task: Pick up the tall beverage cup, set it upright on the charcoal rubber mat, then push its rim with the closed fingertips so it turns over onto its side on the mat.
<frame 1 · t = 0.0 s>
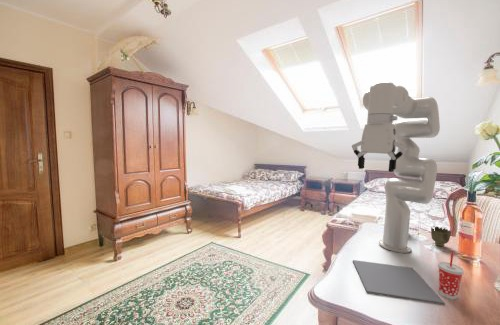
hand: (375, 169, 81), 37 cm above the table, tool pointing down, fingers open, 9 cm apart
cup: (439, 246, 110), on the table
beverage cup: (447, 294, 73), on the table
mat: (391, 279, 80), on the table
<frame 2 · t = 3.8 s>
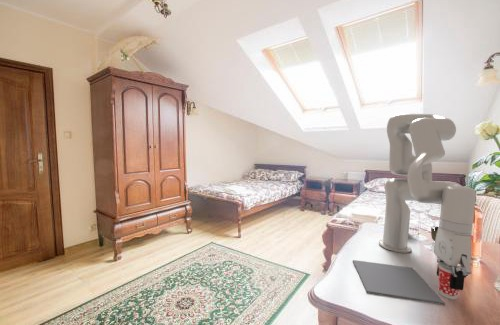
hand: (449, 281, 73), 4 cm above the table, tool pointing down, fingers closed on beverage cup, 6 cm apart
beverage cup: (447, 294, 73), on the table, touching gripper
everything else where it was.
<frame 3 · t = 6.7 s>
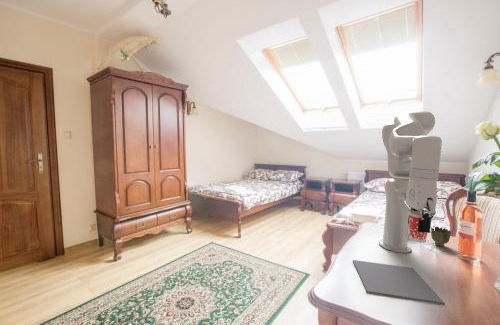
hand: (418, 227, 77), 19 cm above the table, tool pointing down, fingers closed on beverage cup, 6 cm apart
beverage cup: (417, 240, 77), point 15 cm above the table, touching gripper
everything else where it was.
when the fingers open (6 cm above the table, at t = 9.6 s): beverage cup drops 1 cm, resting on mat.
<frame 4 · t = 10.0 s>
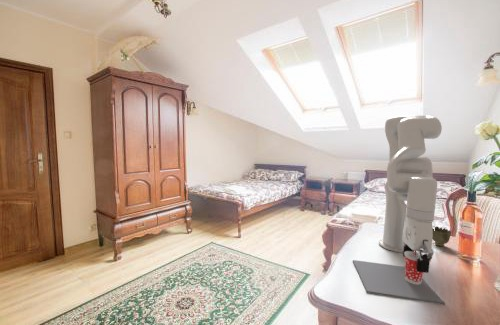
hand: (414, 264, 78), 7 cm above the table, tool pointing down, fingers open, 9 cm apart
beverage cup: (412, 281, 79), resting on mat
everything else where it was.
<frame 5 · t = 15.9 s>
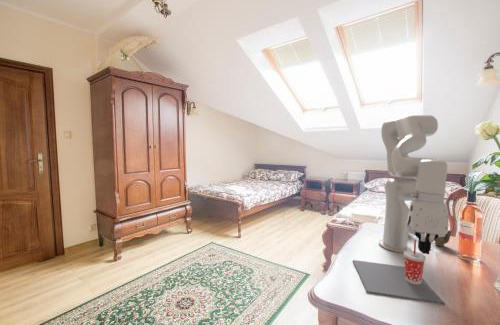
hand: (423, 251, 77), 11 cm above the table, tool pointing down, fingers closed
beverage cup: (412, 281, 79), resting on mat, touching gripper
everything else where it was.
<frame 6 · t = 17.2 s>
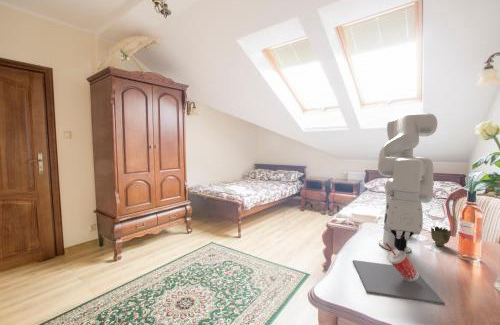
hand: (399, 249, 79), 11 cm above the table, tool pointing down, fingers closed
beverage cup: (412, 276, 79), point 2 cm above the table, touching gripper, mat
everything else where it was.
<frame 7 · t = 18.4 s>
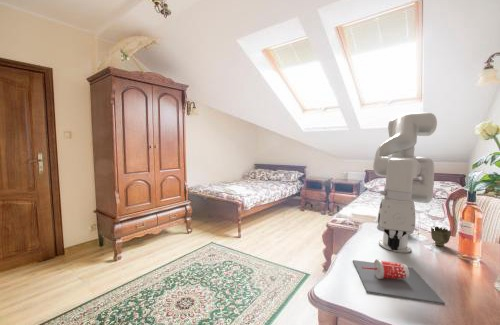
hand: (392, 248, 79), 11 cm above the table, tool pointing down, fingers closed
beverage cup: (406, 271, 79), point 4 cm above the table, touching mat
everything else where it was.
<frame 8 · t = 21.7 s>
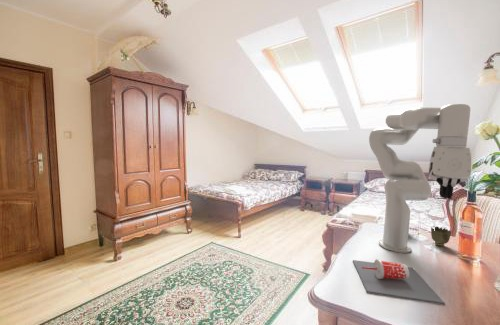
hand: (445, 197, 78), 29 cm above the table, tool pointing down, fingers closed
nothing on the table moved.
at the end: beverage cup tilted 90°; beverage cup inside the target area on the mat (3.8 cm from its centre), point 3.6 cm above the mat's base; the gripper is holding nothing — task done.
